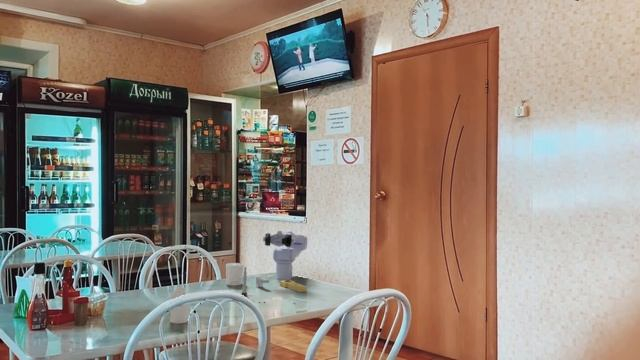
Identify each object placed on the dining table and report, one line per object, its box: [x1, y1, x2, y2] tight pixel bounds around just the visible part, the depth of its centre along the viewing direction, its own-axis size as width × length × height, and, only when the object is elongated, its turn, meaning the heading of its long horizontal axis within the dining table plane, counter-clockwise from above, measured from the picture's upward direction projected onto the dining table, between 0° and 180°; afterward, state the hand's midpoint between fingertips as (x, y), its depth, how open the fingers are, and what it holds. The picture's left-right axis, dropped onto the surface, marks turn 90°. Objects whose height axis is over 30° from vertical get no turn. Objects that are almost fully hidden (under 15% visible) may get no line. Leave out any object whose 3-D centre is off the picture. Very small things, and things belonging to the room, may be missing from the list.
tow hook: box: [240, 266, 253, 297], centre depth 219 cm, size 8×13×9 cm
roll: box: [169, 285, 190, 325], centre depth 179 cm, size 6×12×6 cm
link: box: [279, 279, 308, 293], centre depth 231 cm, size 16×5×2 cm, turn 34°
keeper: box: [255, 276, 270, 288], centre depth 230 cm, size 2×8×4 cm, turn 34°
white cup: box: [225, 262, 245, 286], centre depth 237 cm, size 8×8×10 cm
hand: (274, 240), depth 234 cm, fingers open, 7 cm apart
